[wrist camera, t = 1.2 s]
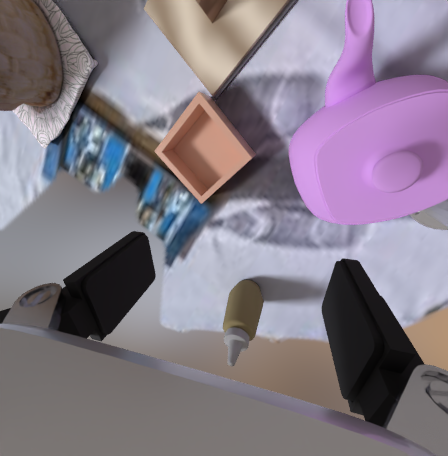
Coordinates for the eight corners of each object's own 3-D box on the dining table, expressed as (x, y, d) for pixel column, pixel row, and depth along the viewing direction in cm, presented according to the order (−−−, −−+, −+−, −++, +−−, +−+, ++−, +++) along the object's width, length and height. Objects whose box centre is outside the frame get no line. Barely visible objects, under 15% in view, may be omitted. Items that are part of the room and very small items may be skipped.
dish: (210, 96, 32) (198, 91, 28) (256, 154, 34) (252, 158, 30) (169, 148, 38) (154, 151, 34) (210, 195, 40) (201, 203, 36)
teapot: (462, 172, 28) (617, 210, 15) (307, 217, 36) (320, 266, 24) (450, -27, 21) (719, -281, 8) (263, 88, 30) (247, 55, 17)
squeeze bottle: (245, 269, 46) (225, 341, 30) (272, 290, 46) (265, 370, 31) (226, 287, 50) (199, 357, 34) (250, 305, 50) (235, 383, 35)
